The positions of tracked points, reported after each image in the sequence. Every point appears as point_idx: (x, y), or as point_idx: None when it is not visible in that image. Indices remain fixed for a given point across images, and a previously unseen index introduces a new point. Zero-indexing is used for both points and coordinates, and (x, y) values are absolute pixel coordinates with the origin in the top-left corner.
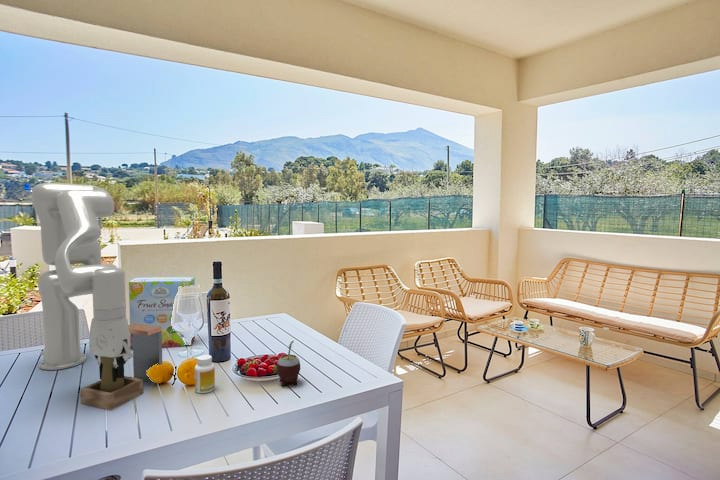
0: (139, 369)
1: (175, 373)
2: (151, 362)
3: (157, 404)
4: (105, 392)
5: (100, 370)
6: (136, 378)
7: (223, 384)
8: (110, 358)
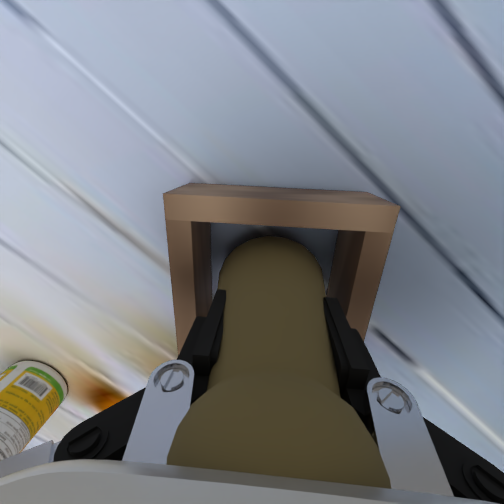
0: None
1: None
2: None
3: (74, 271)
4: (219, 215)
5: (342, 335)
6: None
7: None
8: (184, 454)
